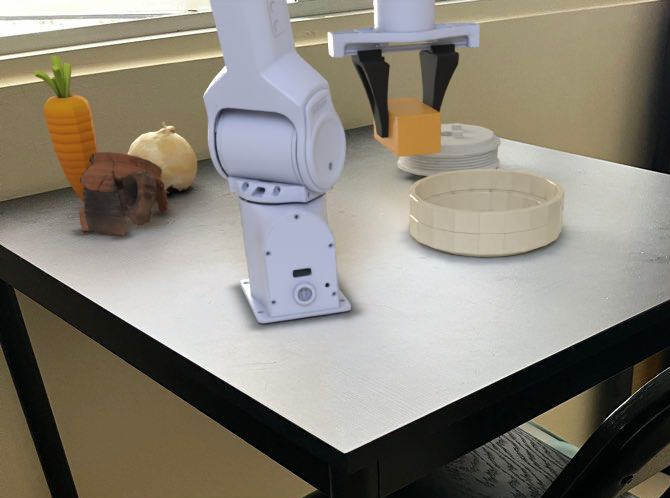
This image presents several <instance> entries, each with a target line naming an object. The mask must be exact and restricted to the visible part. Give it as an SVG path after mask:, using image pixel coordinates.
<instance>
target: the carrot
mask: <svg viewBox="0 0 670 498" xmlns="http://www.w3.org/2000/svg"><path fill="white" fill-rule="evenodd" d="M50 60H51V61H50V62H51V63H52V67H51V69H52V71H51V72H52V74H53V76H52V77H50V76H49V75H48V74H47V73H45V72H43V71H41V70H38V69H36V70H35V71H34V77H36V78H38V79H40V80H43V81H44V83H46V84H47V85H48V86H49V87H50V88H51V89H52V90H53V92H54V94H55V95H54V96H51V97H49V98H48V99H47V100H46V102H45V103H44V105H43V114H44V118H45V122H46V125H47V129H48V132H49V136H50V139H51V143H52V146H53V149H54V152H55V155H56V157H57V159H58V162H59V164H60V167H61V169H62V171H63V173H64V175H65V178H66V180H67V182H68V183H69V184H70V186H71V188H72V189H73V191H74V192H75V194H76V195H77V196H78V197H79V198H80V200H81V201H82V202H83V203H84V200H83V199H84V196H83V188H84V187H83V186H82V184H81V183H80V178H81V177H82V175H83V173H84V172H85V170H86V168H87V167H89V166H90V165H91V162H90V161H89V159H90V157H91V155H92V154H95V153H99V151H98V149H99V148H98V141H97V134H96V128H95V123H94V118H93V112H92V109H91V105H90V102H89V100H88V99H87V98H85V97H84V96H82V95H80V94H79V95H78V94H72V93H71V91H70V86H71V80H72V65H70V63H69V62H64V63H63V62H62V59H61V57H59V56H58V55H52V56H50Z"/></svg>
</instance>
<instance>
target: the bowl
mask: <svg viewBox="0 0 670 498" xmlns="http://www.w3.org/2000/svg"><path fill="white" fill-rule="evenodd" d="M408 188H409V234H410V235H411V237H413V238H414V239H415V240H416V241H417V242H418V243H421V244H423V245H425V246H427V247H430V248H432V249H434V250H436V251H439V252H443V253H447V254H451V255H456V256H463V257H475V258H498V257H507V256H508V257H509V256H514V255H515V256H516V255H520V254H525V253H528V252H532V251H534V250H537V249H539V248H542V247H545V246H548V245H549V244H551V243H552V242H554V241H556V240H557V239H558V238H559V236H560V234H561V232H562V228H563V227H562V226H563V215H564V205H565V195H566V194H565V193H566V191H565V189H564V188H563V185H562V184H561V183H559V182H558V181H556V180H555V179H552V178H550V177H548V176H544V175H541V174H538V173H534V172H529V171H523V170H517V169H505V168H504V169H503V168H502V169H501V168H495V169H466V170H457V171H449V172H444V173H439V174H435V175H431V176H424V177H423V178H420V179H419V180H416V181H415V182H414V183H413V184H412V185H411V186H410V187H408Z"/></svg>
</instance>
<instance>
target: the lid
mask: <svg viewBox="0 0 670 498" xmlns="http://www.w3.org/2000/svg"><path fill="white" fill-rule="evenodd" d="M500 146H501V139H500V137H498V135H496V134H495V133H494V131H493V130H491V129H490V128H487V127H483V126H480V125H474V124H466V123H465V124H464V123H461V122H460V123H459V122H456V123H455V122H454V123H441V152H440V153H433V154H423V155H413V156H404V157H398V159H397V162H396V165H397V168H399V169H400V170H402V171H404V172H406V173H409V174H413V175H416V176H424V177H428V176H431V175H435V174H439V173H444V172H449V171H457V170H466V169H498V167H499V166H500V162H501V161H500V158H499V157H498V156H499V155H498V154H499V150H498V149H499V147H500Z"/></svg>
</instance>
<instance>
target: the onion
mask: <svg viewBox="0 0 670 498" xmlns="http://www.w3.org/2000/svg"><path fill="white" fill-rule="evenodd" d="M161 124H162V127H163V128H160V129H159V130H158V131H151V132H146V133H143V134H141V135H140V136H139V137H137V138H136V139H135V140H134V141H133V142H132V143H131V145H130V147H129V148H128V151H127V154H128V155H133V156H138V157H141V158H143V159H147V160H149V161H151V162H153V163H155V164H156V165H158V166H159V167H160V168H161V169H162V174H161V180H162V182H163V183H164V190H165V193H166V196H167V195H168V194H170V191H167V190H168V189H169V188H170V187H171V188H172V189H176V190H177V191H179V192H181V191H184V190H187V189H188V188H189V187H190V186H191V185H192V183H194V181H195V178H196V176H197V172H198V158H197V155H196V153H195V150H194V149H193V147H192V146H191V144H189V142H188V141H187V139H185V138H184V137H182V136H181V135H179V134H178V133H175V132H177V129H176V127H175V126H173V125H168V126H167V125H166V121H162V123H161Z"/></svg>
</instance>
